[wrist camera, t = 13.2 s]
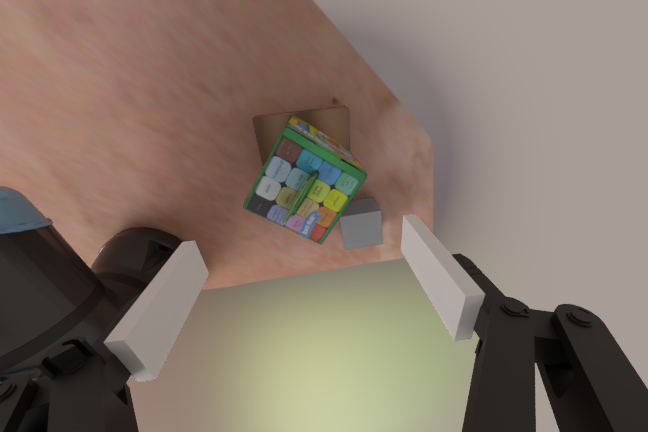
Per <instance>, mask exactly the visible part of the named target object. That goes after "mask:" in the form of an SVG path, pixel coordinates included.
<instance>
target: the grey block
mask: <svg viewBox="0 0 648 432" xmlns="http://www.w3.org/2000/svg"><path fill="white" fill-rule="evenodd" d="M339 222H340V229H341V235H342V240H343V244H344V249H345V250H349V249H355V248H361V247H368V246H374V245H380V244H383V237H382V211H381V209H380V207H379V206H378V204H377V202H376V200H375V199H374V197H369V198H363V199H357V200H351V202H350V203H349V205H348V206H347V208H346V209H345V211H344V212H343V214H342V215H341V217H340V218H339Z"/></svg>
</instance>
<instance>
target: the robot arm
mask: <svg viewBox="0 0 648 432" xmlns="http://www.w3.org/2000/svg"><path fill="white" fill-rule="evenodd" d="M52 224H53V221H52V220H51V219H49V218H46V217H45V216H44V215H43V214H42V213H41V212H40V211H39V210H38V209H37V208H36V207H35V206H34V205H33V204H32V203H31V202H30V201H29V200H28V199H27V198H26V197H25V196H24V195H23V194H22V193H20V192H18V191H17V190H14V189H12V188H9V187H5V186H0V432H139V431H138V427H137V422H136V417H135V412H134V408H133V403H132V398H131V393H130V388H129V387H128V385H127V384H126V382H127V380H128V379H129V377H130V375H132V376H133V377H134V378H135V379H136V380H137V381H138V382H141V381H148V380H155V379H156V378H157V376H158V374H159V372H160V370H161V368H162V366H163V364H164V362H165V360H166V358H167V356H168V354H169V352H170V350H171V348H172V346H173V344H174V342H175V340H176V338H177V336H178V334H179V332H180V331H181V329H182V327H183V324H184V323H185V321H186V319H187V317H188V315H189V313H190V311H191V309H192V307H193V305H194V303H195V301H196V299H197V297H198V295H199V293H200V291H201V289H202V287H203V285H204V283H205V281H206V279H207V277H208V275H209V272H208V270H207V268H206V265H205V263H204V261H203V258H202V256H201V254H200V251H199V249H198V247H197V245H196V242H195V240H194V241H186V242H183V241H181V240H180V239H178V238H176V237H175V236H173V235H171V234H168V233H166V232H163V231H160V230H156V229H150V228H133V229H128V230H125V231H122V232H120V233H118V234H117V235H115V236H114V237H113V238H112V239H110V240H109V241H108V242H107V243H106V244H104V246H103V247H102V248H101V249H100V251H99V253H98V256H97V258H96V260H95V261H94V263H93V265H92V266H91V268H89V267H88V266H87V265H86V264H85V262H84V261H83V260H82V259H81V258H80V257H79V255H78V254H77V253H76V252H75V251H74V250H73V249H72V247H71V246H70V245H69V244H68V243H67V242H66V240H65V239H64V238H63V237H62V236H61V235H60V233H59V232H58V231H57V230H56V229H55V228H54V226H53V225H52ZM401 252H402V253H403V255H404V257H405V258H406V260H407V262H408V263H409V265H410V267H411V268H412V270H413V272H414V273H415V275H416V277H417V279H418V280H419V282H420V284H421V285H422V287H423V289H424V291H425V292H426V294H427V296H428V297H429V299H430V301H431V302H432V304H433V306H434V308H435V309H436V311H437V313H438V314H439V316H440V318H441V319H442V321H443V323H444V324H445V326H446V328H447V330H448V331H449V333H450V335H451V336H452V338H453V340H454V341H457V340H464V339H471V337H472V334H473V331H475V332H476V333H477V335H478V336H479V338H480V339H479V342H478V345H477V348H476V351H475V353H476V358H475V363H474V369H473V374H472V379H471V385H470V390H469V396H468V401H467V407H466V412H465V418H464V423H463V428H462V432H536V416H535V363H537V366H538V369H539V371H540V375H541V378H542V381H543V384H544V387H545V390H546V392H547V395H548V398H549V401H550V404H551V407H552V410H553V413H554V416H555V419H556V422H557V425H558V428H559V431H560V432H648V389H647V388H646V386H645V384H644V383H643V381H642V380H641V378H640V377H639V375H638V374H637V372H636V371H635V369H634V368H633V366H632V365H631V363H630V362H629V360H628V359H627V357H626V356H625V354H624V353H623V351H622V350H621V348H620V347H619V345H618V344H617V342H616V341H615V339H614V337H613V336H612V334H611V333H610V331H609V330H608V328H607V327H606V325H605V324H604V323H603V322H602V321H601V319H600V318H599V317H597V316H596V315H595V314H593V313H592V312H590V311H588V310H586V309H584V308H582V307H579V306H575V305H571V304H562V305H558V307H557V308H556V309H555V311H554V312H548V311H540V310H533V309H529V307H528V306H526V305H525V304H524V303H522V302H520V301H519V300H516V299H514V298H510V297H506V296H504V295H503V293H502V292H501V291H499V289H498V288H497V287H496V286H495V285H494V284H493V283H492V282H491V281H490V280H489V279H488V278H487V277H486V276H485V275H484V274H483V273H482V272H481V270H480V269H479V268H477V266H476V265H475V264H474V263H473V262H472V261H471V260H470V259H468V258H467V257H465V256H463V255H462V254H453V255H451V254H450V253H449V252H448V251H447V250H446V248H445V247H444V246H443V245H442V244H441V243H440V241H439V240H438V239H437V238H436V237H435V236H434V235H433V233H432V232H431V231H430V230H429V229H428V228H427V227H426V225H425V224H424V223H423V222H422V221H421V220H420V219H419V217H418V216H417V215H416V214H410V215H403V228H402V241H401Z"/></svg>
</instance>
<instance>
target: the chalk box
mask: <svg viewBox="0 0 648 432" xmlns="http://www.w3.org/2000/svg"><path fill="white" fill-rule="evenodd" d="M366 178H367V173H366V172H365V171H364V169H363V168H362V167H361V165H360V164H359V163H358V161H357V160H356V159H355V157H354V156H353V155H352V153H351V152H350V151H349V149H347V148H346V147H344V146H343V145H341V144H340V143H338V142H337V141H335V140H334V139H332V138H331V137H329V136H327V135H326V134H324V133H323V132H321V131H319V130H318V129H316V128H315V127H313V126H311V125H310V124H308V123H306V122H305V121H303V120H302V119H300V118H299V117H297V116H295V115H291V116H290V117H289V119H288V121H287V123H286V125H285V126H284V128H283V130H282V131H281V133H280V135H279V137H278V139H277V141H276V143H275V145H274V147H273V149H272V151H271V153H270V155H269V157H268V159H267V161H266V163H265V165H264V167H263V169H262V170H261V172H260V174H259V176H258V178H257V180H256V181H255V183H254V185H253V187H252V189H251V191H250V193H249V195H248V197H247V198H246V200H245V202H244V205H243V208H244V209H246V210H248V211H250V212H253V213H255V214H257V215H259V216H261V217H263V218H265V219H267V220H270V221H272V222H274V223H276V224H278V225H280V226H282V227H284V228H287V229H289V230H291V231H293V232H296V233H297V234H299V235H302V236H304V237H306V238H308V239H310V240H312V241H314V242H317V243H318V244H322V243H323V241H324V240H325V238H326V237H327V235H328V234H329V233H330V231H331V230H332V228H333V227H334V225H335V224H336V222H337V221H338V220H339V218H340V217H341V215H342V214H343V212H344V211H345V209H346V208H347V206H348V205H349V203H350V202H351V200H352V198H353V197H354V196H355V194H356V193H357V191H358V190H359V188H360V187H361V186H362V184H363V183H364V181H365V180H366Z"/></svg>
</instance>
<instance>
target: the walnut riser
mask: <svg viewBox="0 0 648 432" xmlns="http://www.w3.org/2000/svg"><path fill="white" fill-rule="evenodd" d="M291 115H295V116H297V117H299V118H300V119H302V120H303V121H305V122H306V123H308V124H310V125H311V126H313V127H315V128H316V129H318V130H319V131H321V132H323V133H324V134H326V135H327V136H329V137H331V138H332V139H334V140H335V141H337V142H338V143H340V144H341V145H343V146H344V147H346V148H347V149H349V151H350V138H349V115H348V107H346V106H343V107H334V108H325V109H316V110H307V111H298V112H289V113H280V114H271V115H262V116H256V117H254V118H252V119H253V123H254V127H255V132H256V136H257V141H258V145H259V150H260V154H261V158H262V163H263V167H264V165H265V163H266V161H267V159H268V157H269V155H270V153H271V151H272V149H273V147H274V145H275V143H276V141H277V139H278V137H279V135H280V133H281V131H282V130H283V128H284V126H285V125H286V123H287V121H288V119H289V117H290V116H291Z"/></svg>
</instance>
